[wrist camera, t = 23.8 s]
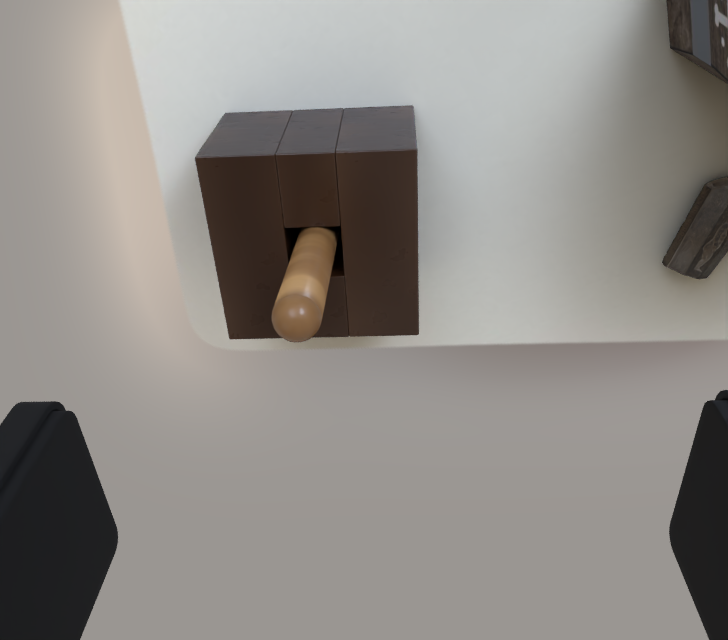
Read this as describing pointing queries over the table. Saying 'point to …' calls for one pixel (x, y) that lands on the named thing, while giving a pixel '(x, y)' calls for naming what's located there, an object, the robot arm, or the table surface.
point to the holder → (315, 214)
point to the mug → (701, 33)
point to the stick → (305, 284)
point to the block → (702, 233)
